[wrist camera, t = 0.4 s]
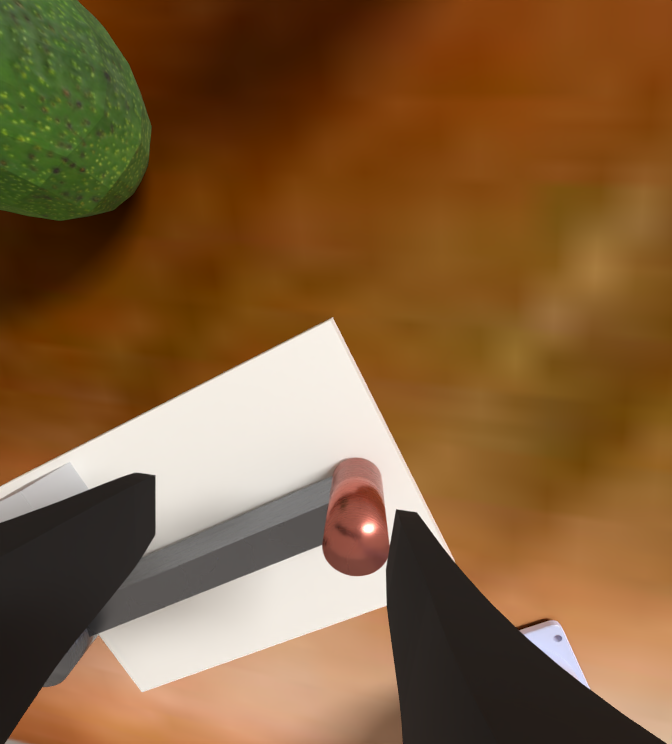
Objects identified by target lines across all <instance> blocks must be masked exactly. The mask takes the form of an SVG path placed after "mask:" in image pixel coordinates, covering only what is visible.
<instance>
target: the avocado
mask: <svg viewBox="0 0 672 744" xmlns="http://www.w3.org/2000/svg"><path fill="white" fill-rule="evenodd" d="M151 127H152V126H151V123H150V120H149V117H148V114H147V111H146V108H145V105H144V102H143V99H142V96H141V93H140V90H139V88H138V85H137V83H136V80H135V78H134V76H133V73H132V71H131V68H130V66H129V64H128V62H127V61H126V59H125V58H124V56H123V55H122V53H121V52H120V50H119V49H118V47H117V46H116V44H115V43H114V41H113V40H112V38H111V37H110V35H109V34H108V32H107V31H106V29H105V28H104V27H103V26H102V24H101V23H100V22H99V21H98V20H97V19H96V18H95V17H94V16H93V15H92V14H91V13H90V12H89V11H88V10H87V9H86V8H85V7H84V6H82V5H81V4H80V3H79V2H78V1H77V0H0V210H4V211H8V212H13V213H17V214H22V215H26V216H32V217H38V218H44V219H51V220H57V221H63V220H69V219H75V218H82V217H88V216H92V215H96V214H101V213H105V212H109V211H113V210H114V209H116V208H117V207H118V206H119V205H120V204H122V203H123V202H124V201H125V200H127V199H128V198H129V197H130V196H132V195H133V194H134V192H135V191H136V189H137V187H138V186H139V184H140V183H141V181H142V178H143V176H144V174H145V171H146V169H147V167H148V161H149V150H150V138H151Z"/></svg>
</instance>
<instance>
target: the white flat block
mask: <svg viewBox="0 0 672 744" xmlns="http://www.w3.org/2000/svg"><path fill="white" fill-rule="evenodd" d="M355 457H356V458H364V459H367V460H369V461H371V462H372V463H374V464H375V465H376V466H377V468H378V469H379V471H380V473H381V476H382V484H383V493H384V501H385V510H386V519H387V528H388V537H389V545H390V541H391V536H392V530H393V524H394V518H395V512H396V509H398V510H405V511H412V512H417V513H418V514H419V516H420V517H421V518H422V520H423V521H424V522H425V524H426V525H427V526H428V528H429V529H430V531H431V532H432V533H433V535H434V536H435V537H436V539H437V540H438V541H439V543H440V544H441V545H442V547H443V548H444V549H445V551H446V552H447V553H448V555H449V556H450V557H451V558H452V560H453V561H454V558H453V556H452V554H451V552H450V550H449V548H448V546H447V544H446V542H445V540H444V538H443V536H442V534H441V533H440V531H439V529H438V527H437V525H436V523H435V521H434V519H433V517H432V515H431V513H430V511H429V509H428V507H427V505H426V503H425V501H424V499H423V497H422V495H421V493H420V491H419V489H418V487H417V485H416V483H415V481H414V479H413V477H412V475H411V473H410V471H409V469H408V467H407V465H406V463H405V461H404V459H403V457H402V455H401V453H400V451H399V449H398V447H397V445H396V443H395V441H394V439H393V437H392V435H391V433H390V431H389V429H388V427H387V425H386V423H385V421H384V419H383V417H382V415H381V413H380V411H379V409H378V407H377V405H376V403H375V401H374V399H373V397H372V395H371V393H370V391H369V389H368V387H367V385H366V383H365V381H364V379H363V377H362V375H361V373H360V371H359V369H358V367H357V365H356V363H355V361H354V359H353V357H352V355H351V353H350V351H349V349H348V347H347V345H346V343H345V341H344V339H343V337H342V335H341V333H340V331H339V329H338V327H337V325H336V323H335V321H334V319H333V317H332V318H330V319H328V320H326V321H324V322H322V323H320V324H318V325H316V326H314V327H313V328H311V329H309V330H307V331H305V332H303V333H301V334H299V335H297V336H295V337H293V338H291V339H289V340H287V341H285V342H283V343H281V344H279V345H277V346H275V347H273V348H271V349H269V350H267V351H265V352H263V353H261V354H259V355H257V356H255V357H253V358H251V359H249V360H247V361H245V362H243V363H242V364H240V365H238V366H236V367H234V368H232V369H230V370H228V371H226V372H224V373H222V374H220V375H218V376H216V377H214V378H212V379H210V380H208V381H206V382H204V383H202V384H200V385H198V386H196V387H194V388H192V389H190V390H188V391H186V392H184V393H182V394H180V395H178V396H176V397H174V398H172V399H170V400H169V401H167V402H165V403H163V404H161V405H159V406H157V407H155V408H153V409H151V410H149V411H147V412H145V413H143V414H141V415H139V416H137V417H135V418H133V419H131V420H129V421H127V422H125V423H123V424H121V425H119V426H117V427H115V428H113V429H111V430H109V431H107V432H105V433H103V434H101V435H99V436H98V437H96V438H94V439H92V440H90V441H88V442H86V443H84V444H82V445H80V446H78V447H76V448H74V449H72V450H70V451H68V452H66V453H64V454H62V455H60V456H58V457H56V458H54V459H52V460H50V461H48V462H46V463H44V464H42V465H40V466H38V467H36V468H34V469H32V470H30V471H28V472H26V473H25V474H23V475H21V476H19V477H17V478H15V479H13V480H11V481H9V482H7V483H6V484H4V485H2V486H0V523H1V522H4V521H7V520H10V519H13V518H15V517H18V516H21V515H24V514H26V513H29V512H32V511H35V510H37V509H40V508H43V507H45V506H48V505H51V504H54V503H56V502H59V501H61V500H64V499H67V498H69V497H72V496H74V495H77V494H79V493H82V492H84V491H87V490H89V489H92V488H94V487H97V486H99V485H102V484H104V483H107V482H109V481H112V480H115V479H117V478H120V477H123V476H126V475H129V474H132V473H136V472H137V473H144V474H151V475H156V535H155V536H154V538H153V540H152V541H151V543H150V545H149V546H148V548H147V550H146V551H145V553H144V555H143V556H142V557H145V556H147V555H149V554H152V553H154V552H156V551H159V550H161V549H163V548H166V547H168V546H170V545H173V544H175V543H177V542H180V541H182V540H184V539H187V538H189V537H191V536H194V535H196V534H198V533H201V532H203V531H205V530H208V529H210V528H212V527H215V526H217V525H219V524H222V523H224V522H226V521H229V520H231V519H233V518H236V517H238V516H240V515H243V514H245V513H247V512H250V511H252V510H254V509H257V508H259V507H261V506H264V505H266V504H268V503H271V502H273V501H275V500H278V499H280V498H282V497H285V496H287V495H289V494H292V493H294V492H296V491H299V490H301V489H303V488H306V487H308V486H310V485H313V484H315V483H317V482H320V481H322V480H324V479H327V478H329V477H331V476H332V475H333V472H334V470H335V468H336V467H337V466H338V465H339V464H340V463H341V462H342V461H344V460H346V459H349V458H355ZM454 562H455V561H454ZM386 565H387V561H386V562H385V564H384V565H383V566H382V567H381V568H380V569H379V570H377V571H376V572H374V573H372V574H369V575H365V576H349V575H345V574H343V573H340V572H339V571H337V570H335V569H334V568H333V567H332V566H331V565H330V564H329V563H328V562H327V560H326V559H325V557H324V554H323V550H322V545H321V546H318V547H316V548H313V549H311V550H308V551H306V552H303V553H301V554H298V555H295V556H293V557H290V558H288V559H285V560H283V561H280V562H278V563H275V564H273V565H270V566H268V567H265V568H263V569H260V570H258V571H255V572H253V573H250V574H247V575H245V576H242V577H240V578H237V579H235V580H232V581H230V582H227V583H225V584H222V585H220V586H217V587H215V588H212V589H210V590H207V591H205V592H202V593H200V594H197V595H194V596H192V597H189V598H187V599H184V600H182V601H179V602H177V603H174V604H172V605H169V606H167V607H164V608H162V609H159V610H157V611H154V612H152V613H149V614H147V615H144V616H141V617H139V618H136V619H134V620H131V621H129V622H126V623H124V624H121V625H119V626H116V627H114V628H111V629H109V630H106V631H104V632H101V633H99V636H100V637H101V638H102V640H103V641H104V642H105V644H106V645H107V646H108V648H109V649H110V650H111V652H112V653H113V654H114V656H115V657H116V658H117V660H118V661H119V662H120V664H121V665H122V666H123V668H124V669H125V670H126V672H127V673H128V674H129V676H130V677H131V678H132V680H133V681H134V682H135V684H136V685H137V686H138V687H139V689H140V690H141V691H142V692H144V691H147V690H150V689H153V688H155V687H158V686H161V685H164V684H167V683H170V682H172V681H175V680H178V679H181V678H184V677H186V676H189V675H192V674H195V673H198V672H201V671H203V670H206V669H209V668H212V667H215V666H218V665H220V664H223V663H226V662H229V661H232V660H234V659H237V658H240V657H243V656H246V655H249V654H251V653H254V652H257V651H260V650H263V649H265V648H268V647H271V646H274V645H277V644H280V643H282V642H285V641H288V640H291V639H294V638H296V637H299V636H302V635H305V634H308V633H311V632H313V631H316V630H319V629H322V628H325V627H328V626H330V625H333V624H336V623H339V622H342V621H344V620H347V619H350V618H353V617H356V616H359V615H361V614H364V613H367V612H370V611H373V610H375V609H378V608H381V607H384V606H387V598H386Z"/></svg>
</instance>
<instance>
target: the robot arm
mask: <svg viewBox="0 0 672 744" xmlns="http://www.w3.org/2000/svg"><path fill="white" fill-rule="evenodd" d="M155 535H156V475H151V474H144V473H137V472H136V473H132V474H129V475H126V476H123V477H120V478H117V479H115V480H112V481H109V482H107V483H104V484H102V485H99V486H97V487H94V488H92V489H89V490H87V491H84V492H82V493H79V494H77V495H74V496H72V497H69V498H67V499H64V500H61V501H59V502H56V503H54V504H51V505H48V506H45V507H43V508H40V509H37V510H35V511H32V512H29V513H26V514H24V515H21V516H18V517H15V518H13V519H10V520H7V521H4V522H1V523H0V744H5V742H6V741H7V739H8V738H9V736H10V735H11V733H12V731H13V730H14V728H15V727H16V725H17V724H18V722H19V721H20V719H21V718H22V716H23V715H24V713H25V712H26V710H27V709H28V707H29V706H30V704H31V703H32V701H33V700H34V698H35V697H36V696H37V694H38V693H39V691H40V690H41V688H42V687H43V685H44V684H45V682H46V681H47V680H48V678H49V677H50V675H51V674H52V672H53V671H54V669H55V668H56V666H57V665H58V664H59V662H60V661H61V660H62V658H63V657H64V656H65V654H66V653H67V652H68V650H69V649H70V648H71V646H72V645H73V644H74V643H75V641H76V640H77V639H78V638H79V637H80V635H81V634H82V633H83V632H84V630H85V629H86V628H87V627H88V625H89V624H90V623H91V622H92V621H93V619H94V618H95V617H96V616H97V614H98V613H99V612H100V611H101V609H102V608H103V607H104V606H105V605H106V603H107V602H108V601H109V600H110V598H111V597H112V596H113V595H114V593H115V592H116V591H117V590H118V588H119V587H120V586H121V585H122V583H123V582H124V581H125V580H126V578H127V577H128V576H129V575H130V573H131V572H132V571H133V569H134V568H135V567H136V565H137V564H138V562H139V561H140V559H141V558H142V556H143V555H144V553H145V551H146V550H147V548H148V546H149V545H150V543H151V541H152V540H153V538H154V536H155ZM386 598H387V611H388V619H389V627H390V634H391V642H392V649H393V656H394V663H395V671H396V678H397V685H398V693H399V700H400V710H401V720H402V736H403V744H666V743H665V742H663V741H662V740H660V739H659V738H657V737H656V736H655V735H653V734H652V733H650V732H649V731H647V730H646V729H644V728H643V727H641V726H640V725H638V724H637V723H635V722H634V721H632V720H631V719H629V718H628V717H626V716H625V715H624V714H622V713H621V712H620V711H618V710H617V709H615V708H614V707H613V706H611V705H610V704H609V703H607V702H606V701H605V700H603V699H602V698H601V697H599V696H598V695H597V694H595V693H594V692H593V691H591V690H590V688H589V686H588V683H587V681H586V679H585V677H584V675H583V672H582V670H581V668H580V666H579V664H578V661H577V659H576V657H575V655H574V653H573V650H572V648H571V646H570V644H569V642H568V639H567V637H566V635H565V633H564V631H563V629H562V627H561V625H560V624H559V622H557V621H554V620H550V621H546V622H543V623H540V624H537V625H534V626H531V627H528V628H524V629H521V630H518V629H517V628H516V627H515V626H514V625H513V624H512V623H511V622H510V621H509V620H508V619H507V618H506V617H504V616H503V615H502V614H501V613H500V612H499V611H498V610H497V609H496V608H495V607H494V606H493V605H492V604H491V603H490V602H489V601H488V600H487V599H486V597H485V596H484V595H483V594H482V593H481V592H480V591H479V590H478V589H477V588H476V587H475V585H474V584H473V583H472V582H471V581H470V580H469V579H468V578H467V576H466V575H465V574H464V573H463V572H462V571H461V569H460V568H459V567H458V566H457V565H456V563H455V562H454V561H453V560H452V558H451V557H450V556H449V555H448V553H447V552H446V551H445V549H444V548H443V547H442V545H441V544H440V543H439V541H438V540H437V539H436V537H435V536H434V535H433V533H432V532H431V531H430V529H429V528H428V526H427V525H426V524H425V522H424V521H423V520H422V518H421V517H420V516H419V514H418V513H417V512H412V511H405V510H398V509H396V512H395V518H394V524H393V530H392V536H391V541H390V547H389V553H388V559H387V565H386Z"/></svg>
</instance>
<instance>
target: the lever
mask: <svg viewBox="0 0 672 744" xmlns="http://www.w3.org/2000/svg"><path fill="white" fill-rule="evenodd" d="M321 545H322V550H323V554H324V557H325V559H326V560H327V562H328V563H329V564H330V565H331V566H332V567H333V568H334V569H335V570H337V571H339V572H340V573H343V574H345V575H349V576H365V575H369V574H372V573H374V572H376V571H377V570H379V569H380V568H381V567H382V566H383V565H384V564H385V562H386V561H387V559H388V553H389V547H390V545H389V537H388V528H387V519H386V510H385V501H384V493H383V484H382V476H381V473H380V471H379V469H378V468H377V466H376V465H375V464H374V463H372V462H371V461H369V460H367V459H364V458H356V457H355V458H349V459H346V460H344V461H342V462H341V463H340V464H339V465H338V466H337V467H336V468H335V470H334V472H333V475H332V476H331V477H329V478H327V479H324V480H322V481H320V482H317V483H315V484H313V485H310V486H308V487H306V488H303V489H301V490H299V491H296V492H294V493H292V494H289V495H287V496H285V497H282V498H280V499H278V500H275V501H273V502H271V503H268V504H266V505H264V506H261V507H259V508H257V509H254V510H252V511H250V512H247V513H245V514H243V515H240V516H238V517H236V518H233V519H231V520H229V521H226V522H224V523H222V524H219V525H217V526H215V527H212V528H210V529H208V530H205V531H203V532H201V533H198V534H196V535H194V536H191V537H189V538H187V539H184V540H182V541H180V542H177V543H175V544H173V545H170V546H168V547H166V548H163V549H161V550H159V551H156V552H154V553H152V554H149V555H147V556H145V557H142V558H141V559H140V561H139V562H138V564H137V565H136V567H135V568H134V569H133V571H132V572H131V573H130V575H129V576H128V577H127V578H126V580H125V581H124V582H123V583H122V585H121V586H120V587H119V588H118V590H117V591H116V592H115V593H114V595H113V596H112V597H111V598H110V600H109V601H108V602H107V603H106V605H105V606H104V607H103V608H102V609H101V611H100V612H99V613H98V614H97V616H96V617H95V618H94V619H93V621H92V622H91V623H90V624H89V625H88V627H87V628H86V629H85V630H84V632H83V633H82V634H81V635H80V637H79V638H78V639H77V640H76V641H75V643H74V644H73V645H72V646H71V648H70V649H69V650H68V652H67V653H66V654H65V656H64V657H63V658H62V660H61V661H60V662H59V664H58V665H57V666H56V668H55V669H54V671H53V672H52V674H51V675H50V677H49V678H48V680H47V681H46V682H45V684H44V685H43V687H50V686H54V685H57V684H59V683H61V682H62V681H63V680H64V679H65V678H66V677H67V676H68V674H69V673H70V672H71V670H72V669H73V668H74V666H75V665H76V664H77V662H78V661H79V660H80V658H81V657H82V656H83V654H84V653H85V652H86V651H87V649H88V648H89V647H90V645H91V644H92V643H93V641H94V640H95V639H96V637H97V636H98V635H99V633H101V632H104V631H106V630H109V629H111V628H114V627H116V626H119V625H121V624H124V623H126V622H129V621H131V620H134V619H136V618H139V617H141V616H144V615H147V614H149V613H152V612H154V611H157V610H159V609H162V608H164V607H167V606H169V605H172V604H174V603H177V602H179V601H182V600H184V599H187V598H189V597H192V596H194V595H197V594H200V593H202V592H205V591H207V590H210V589H212V588H215V587H217V586H220V585H222V584H225V583H227V582H230V581H232V580H235V579H237V578H240V577H242V576H245V575H247V574H250V573H253V572H255V571H258V570H260V569H263V568H265V567H268V566H270V565H273V564H275V563H278V562H280V561H283V560H285V559H288V558H290V557H293V556H295V555H298V554H301V553H303V552H306V551H308V550H311V549H313V548H316V547H318V546H321Z"/></svg>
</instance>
